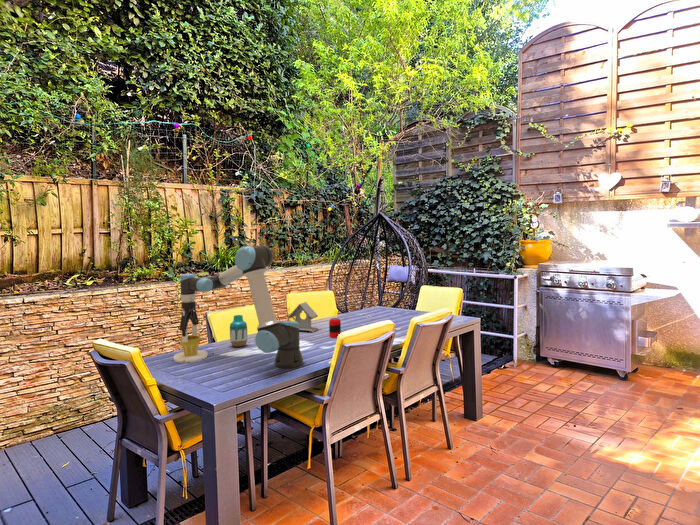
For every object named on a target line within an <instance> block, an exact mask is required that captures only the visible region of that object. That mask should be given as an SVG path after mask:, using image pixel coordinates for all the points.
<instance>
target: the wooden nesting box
mask: <svg viewBox="0 0 700 525" xmlns="http://www.w3.org/2000/svg"><path fill="white" fill-rule="evenodd" d="M302 313H305V318H301V314H302ZM288 318H289V319H292V318H294V319H295V320H294V321H296V322H298V323H299V328H300V329H299V331H309V334H312V333H315V332H317V331H318V329H319V328H318V327H312V320H313V319H316V318H318V314H317V313H316V311H314V309H313V308H312V307H311V306H310V305H309V304H308V302H307V301H305V302H302V303H299V304H298V305H297V306H296V307H295V309H294V310H293V311H292V312H291V313H290V314H289V315H288ZM311 332H312V333H311Z"/></svg>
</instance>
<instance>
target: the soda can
mask: <svg viewBox="0 0 700 525" xmlns="http://www.w3.org/2000/svg"><path fill="white" fill-rule="evenodd" d="M328 321H329V322H328V324H329V327H328V328H329V332H328V333H329V335H328V336H329V338H332V339H337V336H338V334H340V333H341V334H342V332H341V331H342V330H341V327H342V326H341V324H342V323H341V319H340V318H338V317H332V318H330V320H328Z"/></svg>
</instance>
